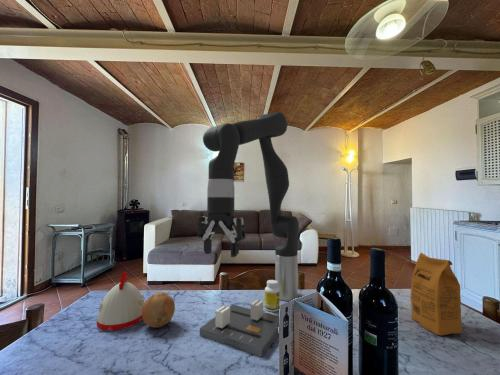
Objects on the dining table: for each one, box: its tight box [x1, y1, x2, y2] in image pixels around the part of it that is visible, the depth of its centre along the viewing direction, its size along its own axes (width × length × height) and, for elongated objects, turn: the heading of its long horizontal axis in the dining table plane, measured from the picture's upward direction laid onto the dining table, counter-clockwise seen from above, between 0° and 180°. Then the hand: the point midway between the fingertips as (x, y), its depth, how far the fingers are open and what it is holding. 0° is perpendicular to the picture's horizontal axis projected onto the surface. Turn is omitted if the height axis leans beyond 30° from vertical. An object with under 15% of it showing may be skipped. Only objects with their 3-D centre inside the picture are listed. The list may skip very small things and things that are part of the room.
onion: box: [142, 291, 176, 329], centre depth 73 cm, size 10×10×10 cm
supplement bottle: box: [264, 279, 280, 313], centre depth 85 cm, size 5×5×10 cm
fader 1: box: [214, 305, 230, 328], centre depth 69 cm, size 4×2×4 cm, turn 152°
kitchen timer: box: [96, 270, 145, 331], centre depth 77 cm, size 14×14×15 cm
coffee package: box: [410, 252, 463, 336], centre depth 74 cm, size 10×12×22 cm
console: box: [199, 304, 280, 358], centre depth 71 cm, size 18×20×2 cm
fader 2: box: [250, 299, 264, 320], centre depth 74 cm, size 4×2×4 cm, turn 152°
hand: (220, 254), depth 64 cm, fingers open, 8 cm apart
